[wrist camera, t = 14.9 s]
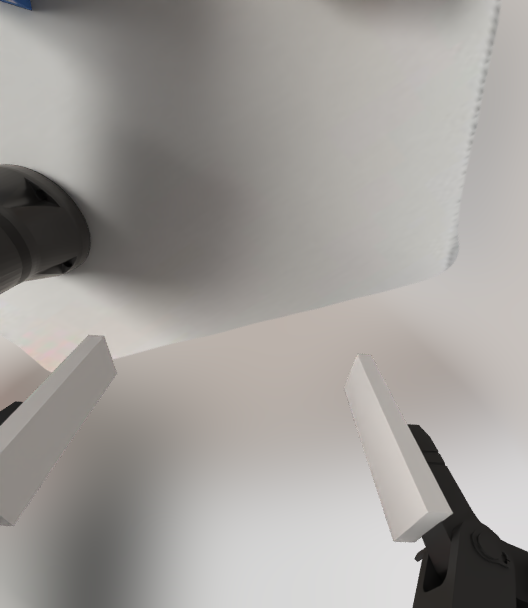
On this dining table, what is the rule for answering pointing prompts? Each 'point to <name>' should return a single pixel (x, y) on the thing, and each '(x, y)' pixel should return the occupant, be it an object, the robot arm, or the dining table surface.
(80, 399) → the robot arm
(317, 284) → the dining table surface
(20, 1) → the milk carton
